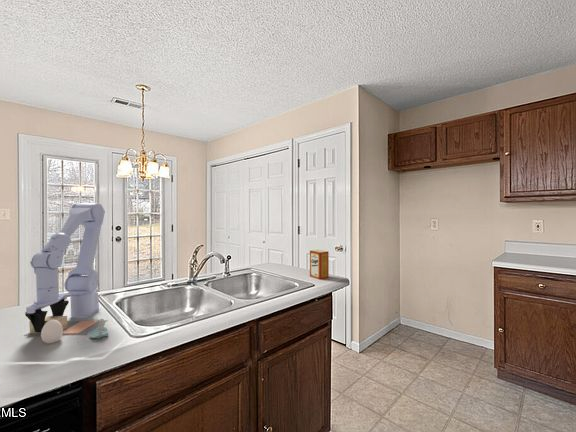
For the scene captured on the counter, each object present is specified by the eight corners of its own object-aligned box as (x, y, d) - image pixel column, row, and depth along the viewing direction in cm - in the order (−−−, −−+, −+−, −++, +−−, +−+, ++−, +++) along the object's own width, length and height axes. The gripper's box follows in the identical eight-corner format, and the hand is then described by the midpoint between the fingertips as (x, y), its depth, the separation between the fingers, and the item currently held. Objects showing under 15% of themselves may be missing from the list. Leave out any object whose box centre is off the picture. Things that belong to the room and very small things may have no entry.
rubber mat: (52, 322, 106) (52, 321, 106) (108, 322, 106) (108, 320, 106) (23, 337, 94) (23, 335, 94) (85, 336, 94) (85, 334, 94)
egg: (65, 338, 93) (65, 315, 93) (59, 345, 88) (59, 321, 88) (45, 341, 91) (44, 318, 91) (38, 348, 86) (37, 324, 86)
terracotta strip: (81, 321, 105) (81, 321, 105) (98, 321, 106) (98, 320, 106) (59, 334, 95) (59, 333, 95) (78, 333, 95) (78, 333, 95)
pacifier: (85, 346, 88) (109, 340, 92) (84, 326, 88) (107, 321, 91) (85, 337, 94) (107, 332, 98) (84, 318, 94) (106, 314, 97)
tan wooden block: (29, 333, 96) (29, 321, 96) (40, 327, 100) (40, 316, 100) (57, 332, 96) (57, 320, 96) (67, 327, 100) (66, 315, 100)
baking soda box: (309, 276, 175) (309, 250, 175) (318, 274, 179) (318, 249, 178) (320, 279, 167) (319, 251, 167) (328, 278, 171) (328, 251, 171)
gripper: (52, 281, 105) (53, 318, 105) (15, 293, 90) (17, 336, 91) (72, 281, 105) (73, 318, 105) (38, 293, 90) (40, 336, 91)
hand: (48, 327), depth 98 cm, fingers open, 7 cm apart
